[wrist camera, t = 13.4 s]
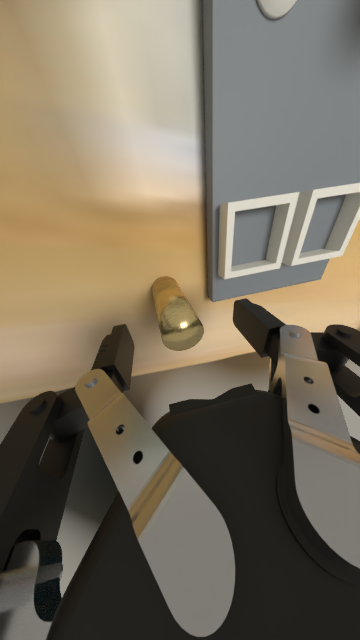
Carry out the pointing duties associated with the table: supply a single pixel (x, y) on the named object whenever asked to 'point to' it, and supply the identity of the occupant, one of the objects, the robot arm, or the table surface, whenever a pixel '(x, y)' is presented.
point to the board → (279, 140)
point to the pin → (175, 316)
